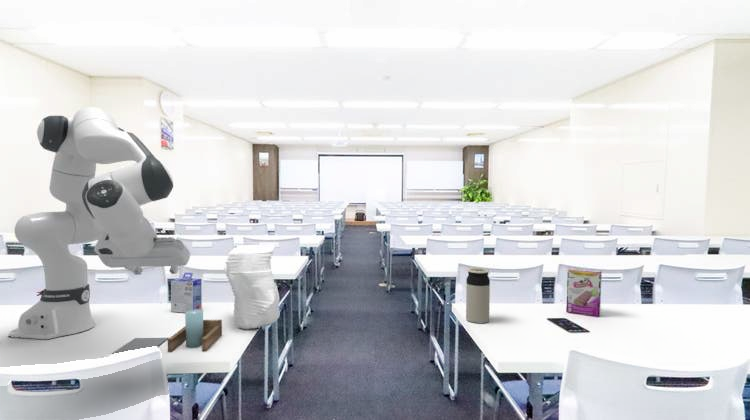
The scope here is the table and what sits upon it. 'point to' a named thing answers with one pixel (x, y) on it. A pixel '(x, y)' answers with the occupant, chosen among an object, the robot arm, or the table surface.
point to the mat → (141, 344)
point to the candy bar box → (584, 292)
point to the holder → (210, 334)
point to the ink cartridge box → (186, 294)
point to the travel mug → (477, 295)
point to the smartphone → (568, 325)
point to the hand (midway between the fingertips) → (157, 272)
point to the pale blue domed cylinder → (194, 327)
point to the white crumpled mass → (253, 286)
